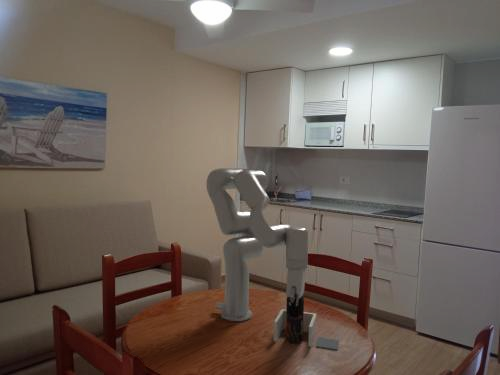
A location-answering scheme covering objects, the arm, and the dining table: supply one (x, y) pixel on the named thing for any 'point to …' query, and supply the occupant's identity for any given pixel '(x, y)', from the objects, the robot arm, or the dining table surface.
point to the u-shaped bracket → (308, 325)
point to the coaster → (327, 343)
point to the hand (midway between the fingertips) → (296, 312)
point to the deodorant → (295, 324)
